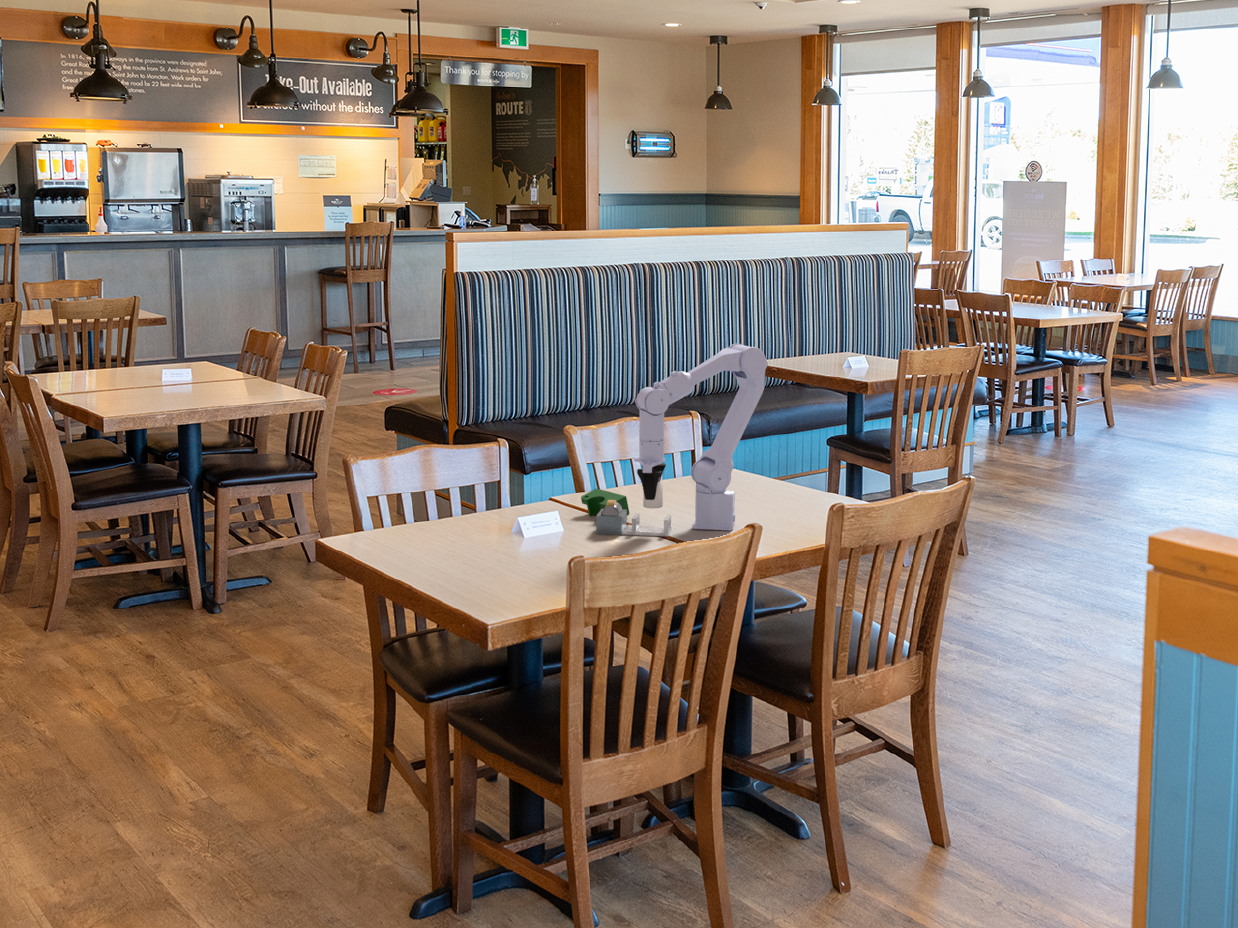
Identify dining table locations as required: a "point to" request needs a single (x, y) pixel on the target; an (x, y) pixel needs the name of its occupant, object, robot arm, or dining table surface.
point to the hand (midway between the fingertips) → (651, 497)
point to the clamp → (602, 500)
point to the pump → (658, 498)
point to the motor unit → (615, 523)
